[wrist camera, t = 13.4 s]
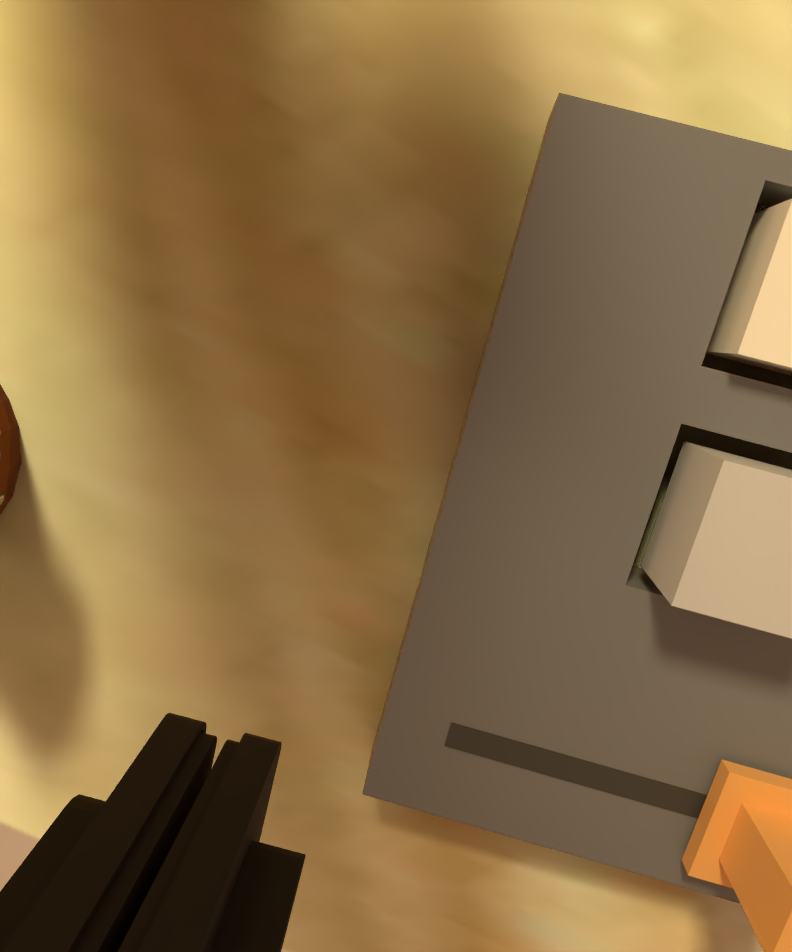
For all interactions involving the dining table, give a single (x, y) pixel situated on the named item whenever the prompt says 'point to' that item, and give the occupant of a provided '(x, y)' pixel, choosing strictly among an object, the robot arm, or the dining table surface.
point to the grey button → (726, 539)
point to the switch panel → (593, 517)
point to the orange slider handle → (748, 847)
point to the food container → (8, 450)
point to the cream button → (760, 296)
